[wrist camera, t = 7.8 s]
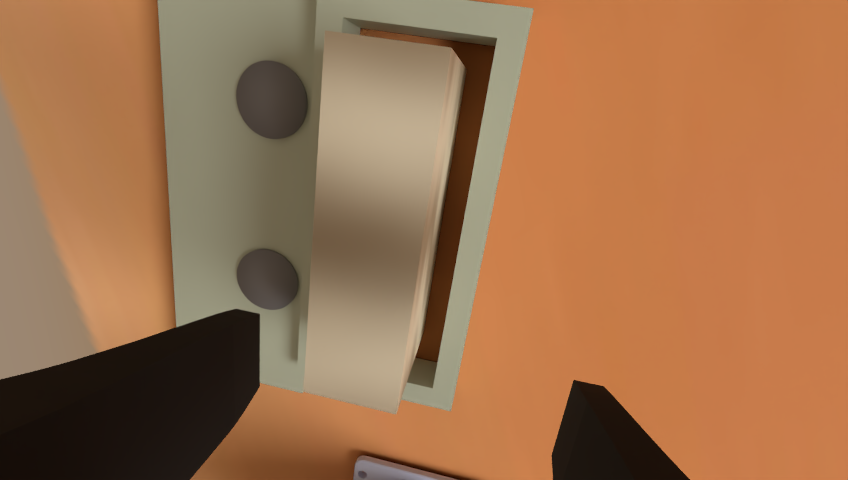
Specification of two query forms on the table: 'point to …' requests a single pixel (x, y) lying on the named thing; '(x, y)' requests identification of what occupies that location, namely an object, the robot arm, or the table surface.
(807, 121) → the table surface
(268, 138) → the sage cabinet frame
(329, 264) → the birch door
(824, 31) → the table surface
